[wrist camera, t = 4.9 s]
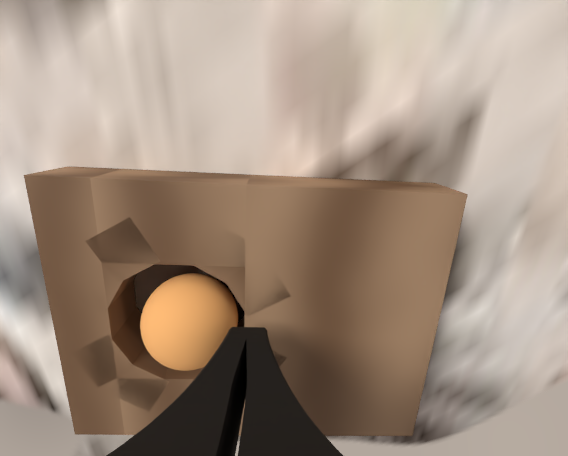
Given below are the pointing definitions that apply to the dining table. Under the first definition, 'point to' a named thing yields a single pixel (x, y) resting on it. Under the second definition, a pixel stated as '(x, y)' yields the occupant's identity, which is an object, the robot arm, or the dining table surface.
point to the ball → (187, 320)
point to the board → (249, 285)
